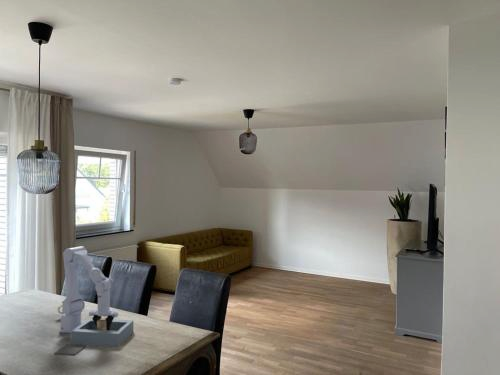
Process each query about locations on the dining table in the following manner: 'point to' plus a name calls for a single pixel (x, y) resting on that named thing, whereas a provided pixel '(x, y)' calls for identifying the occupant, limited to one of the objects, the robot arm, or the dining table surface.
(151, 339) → the dining table surface
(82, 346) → the mat
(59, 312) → the teacup with lid
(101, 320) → the birch post
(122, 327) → the box
